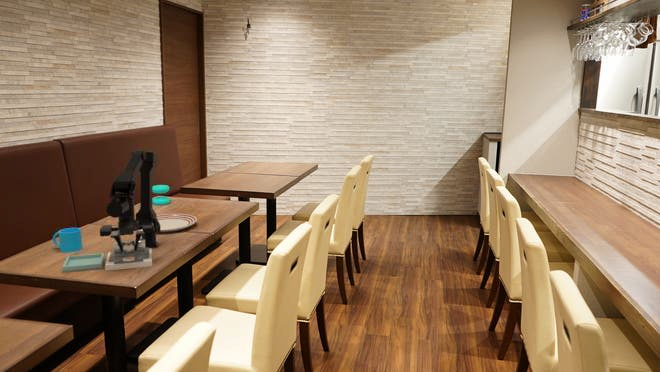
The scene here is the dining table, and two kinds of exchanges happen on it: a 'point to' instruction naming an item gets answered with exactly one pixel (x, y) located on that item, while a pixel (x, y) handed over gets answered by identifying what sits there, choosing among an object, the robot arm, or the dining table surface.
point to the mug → (69, 240)
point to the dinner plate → (175, 221)
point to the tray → (83, 262)
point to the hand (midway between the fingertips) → (128, 251)
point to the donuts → (162, 199)
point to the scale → (129, 260)
